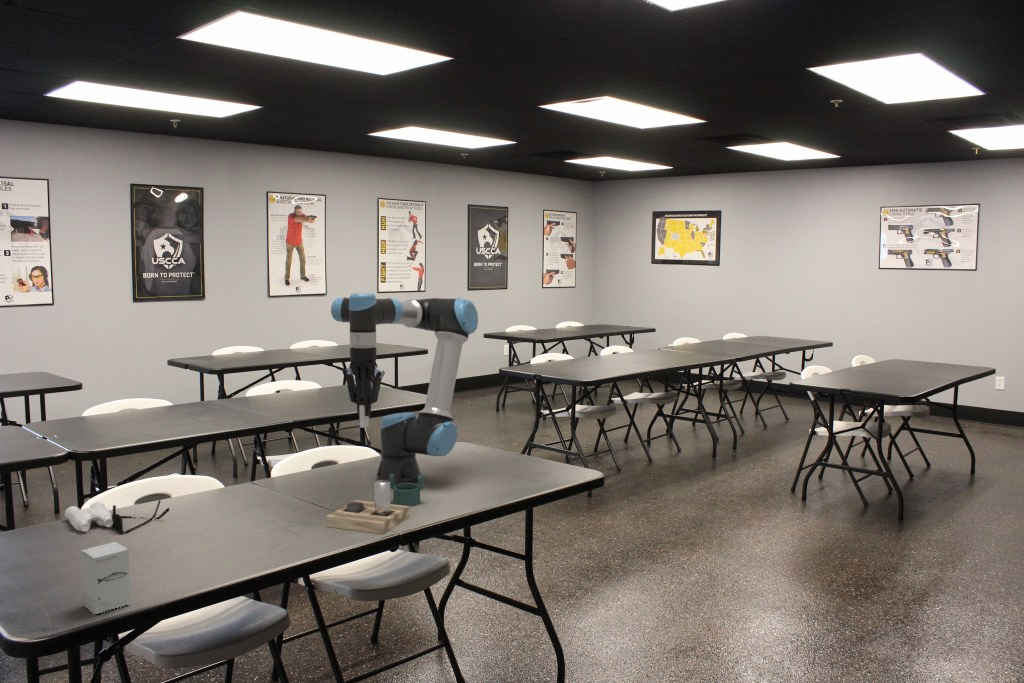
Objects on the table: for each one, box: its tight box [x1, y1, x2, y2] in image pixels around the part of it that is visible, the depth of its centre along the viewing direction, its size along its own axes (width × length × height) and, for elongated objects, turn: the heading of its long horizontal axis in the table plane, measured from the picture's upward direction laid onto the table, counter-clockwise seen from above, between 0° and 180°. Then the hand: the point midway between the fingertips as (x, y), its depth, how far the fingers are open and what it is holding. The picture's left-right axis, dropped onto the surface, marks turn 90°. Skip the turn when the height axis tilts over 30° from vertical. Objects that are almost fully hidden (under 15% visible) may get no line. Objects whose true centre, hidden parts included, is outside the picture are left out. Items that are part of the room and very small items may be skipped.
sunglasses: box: [111, 499, 170, 535], centre depth 220 cm, size 17×14×5 cm
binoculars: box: [64, 501, 113, 532], centre depth 218 cm, size 10×16×5 cm, turn 40°
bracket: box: [389, 474, 425, 508], centre depth 239 cm, size 9×9×9 cm
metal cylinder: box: [373, 480, 391, 517], centre depth 219 cm, size 4×4×12 cm
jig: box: [326, 499, 411, 535], centre depth 221 cm, size 16×18×4 cm
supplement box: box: [79, 541, 131, 615], centre depth 165 cm, size 7×7×13 cm
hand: (364, 426), depth 225 cm, fingers closed
